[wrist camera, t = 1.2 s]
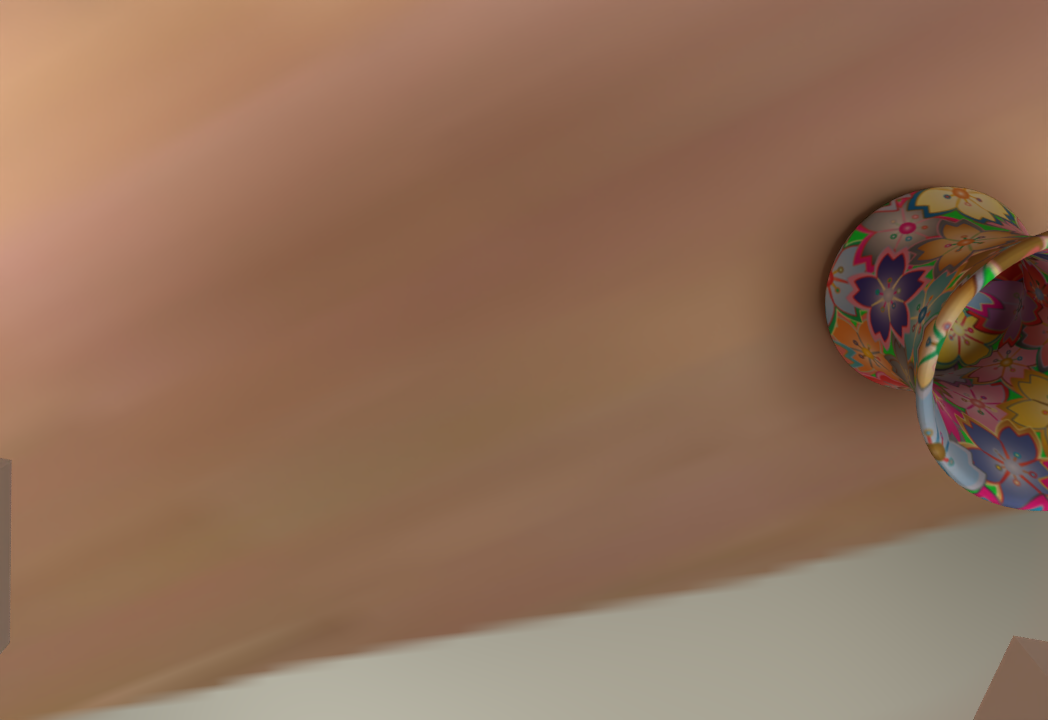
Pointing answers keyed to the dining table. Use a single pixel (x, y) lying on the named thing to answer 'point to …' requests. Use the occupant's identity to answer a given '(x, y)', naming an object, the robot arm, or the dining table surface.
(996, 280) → the mug
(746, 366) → the dining table surface
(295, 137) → the dining table surface
